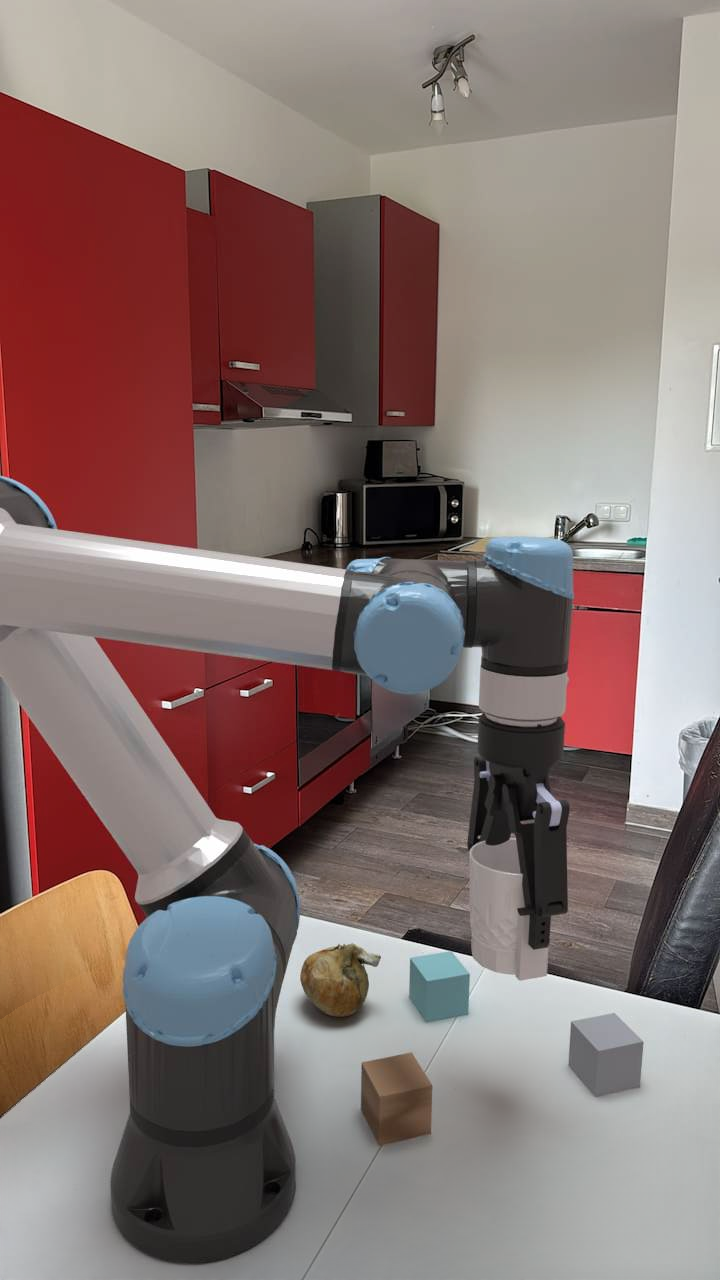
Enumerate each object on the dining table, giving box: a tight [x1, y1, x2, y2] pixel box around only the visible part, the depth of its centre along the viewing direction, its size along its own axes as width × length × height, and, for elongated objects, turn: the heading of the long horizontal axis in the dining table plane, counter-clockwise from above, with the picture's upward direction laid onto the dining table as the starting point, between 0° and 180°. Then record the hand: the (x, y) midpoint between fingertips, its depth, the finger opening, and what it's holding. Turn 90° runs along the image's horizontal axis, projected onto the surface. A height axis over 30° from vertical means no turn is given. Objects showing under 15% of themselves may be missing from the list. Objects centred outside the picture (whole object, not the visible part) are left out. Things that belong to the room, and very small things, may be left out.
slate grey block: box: [568, 1012, 645, 1098], centre depth 94 cm, size 5×5×5 cm
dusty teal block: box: [408, 950, 471, 1023], centre depth 106 cm, size 5×5×5 cm
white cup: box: [468, 837, 525, 976], centre depth 87 cm, size 8×8×10 cm
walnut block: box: [360, 1052, 433, 1146], centre depth 87 cm, size 5×5×5 cm
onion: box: [299, 942, 382, 1018], centre depth 105 cm, size 8×8×8 cm
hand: (509, 952), depth 88 cm, fingers closed on white cup, 8 cm apart
